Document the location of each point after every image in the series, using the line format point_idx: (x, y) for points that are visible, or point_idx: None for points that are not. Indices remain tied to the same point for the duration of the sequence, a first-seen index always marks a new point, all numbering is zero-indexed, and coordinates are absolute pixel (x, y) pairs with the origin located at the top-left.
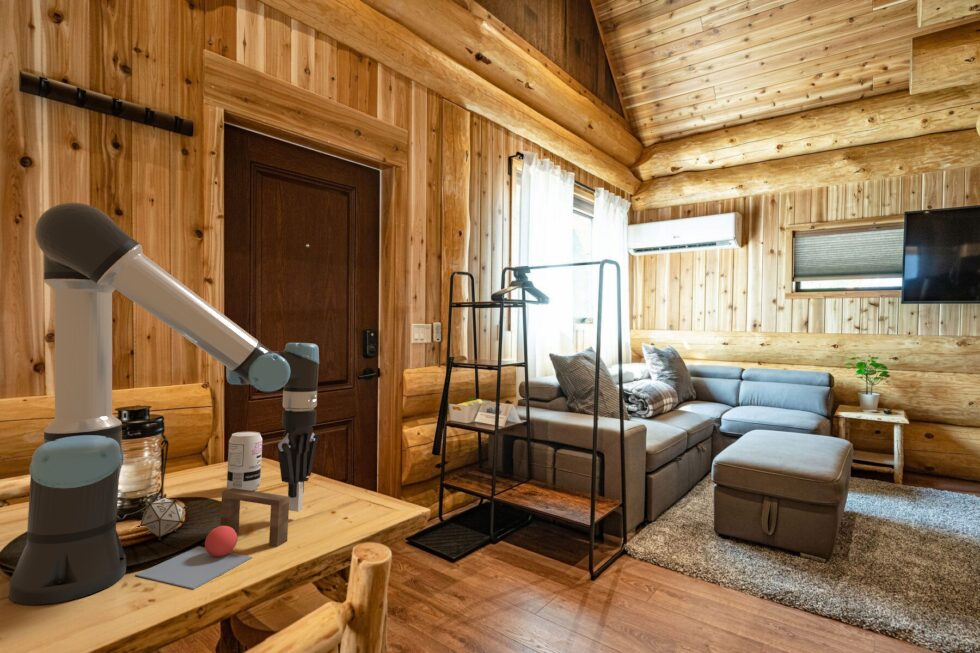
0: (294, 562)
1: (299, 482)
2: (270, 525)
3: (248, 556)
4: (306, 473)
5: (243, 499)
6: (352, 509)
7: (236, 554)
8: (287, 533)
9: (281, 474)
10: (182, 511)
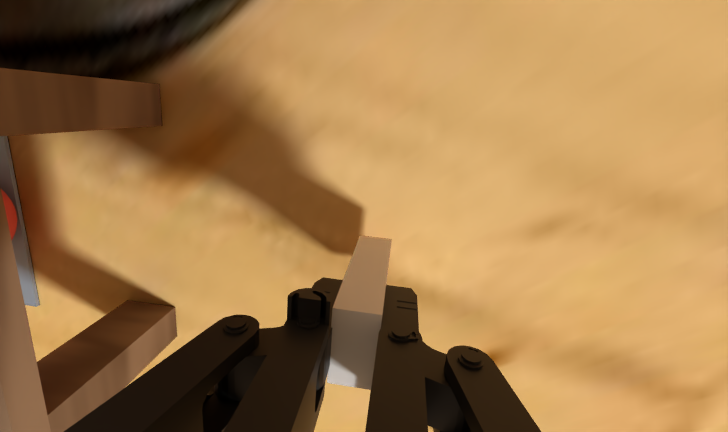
0: None
1: (350, 373)
2: (68, 342)
3: (33, 295)
4: (437, 423)
5: None
6: (543, 413)
7: (23, 254)
8: (158, 353)
9: (174, 358)
10: None
